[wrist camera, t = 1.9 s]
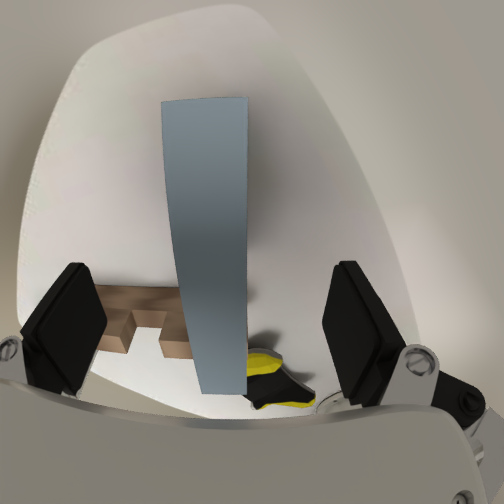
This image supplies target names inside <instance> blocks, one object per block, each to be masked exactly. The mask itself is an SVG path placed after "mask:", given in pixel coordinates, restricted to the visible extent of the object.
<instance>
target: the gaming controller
mask: <svg viewBox="0 0 504 504" xmlns="http://www.w3.org/2000/svg"><path fill="white" fill-rule="evenodd" d="M282 362H283V358H282V355H280V354H278V353H276V352H274V351H272V350H270V349H264V348H252V349H249V350H248V360H247V395H243V396H244V397H245V398H247V399H248V400H249V401H251V409H252V410H254V409H256V410H259V409H263V408H265V407H266V406H268V405H271V404H277V405H284V406H292V407H299V408H305V407H310V406H312V405H313V404H314V402H315V398H316V394H315V391H314V390H312V389H310V388H309V387H307V386H306V385H304V384H302V383H301V382H299V381H297V380H296V379H294V378H293V377H292V376H290V375H289V374H288V373H287V372H286V371H285V370H284V369H283V368H282V367H281V365H282Z"/></svg>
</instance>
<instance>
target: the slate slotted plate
mask: <svg viewBox="0 0 504 504" xmlns="http://www.w3.org/2000/svg"><path fill="white" fill-rule="evenodd" d="M161 112H162V138H163V155H164V169H165V182H166V193H167V203H168V212H169V221H170V229H171V237H172V244H173V252H174V259H175V265H176V272H177V278H178V284H179V290H180V296H181V301H182V307H183V312H184V317H185V322H186V327H187V332H188V337H189V342H190V346H191V351H192V355H193V360H194V364H195V368H196V372H197V376H198V381H199V385H200V388H201V392H202V394H223V395H247V152H248V97H222V98H200V99H187V100H176V101H166V102H161Z"/></svg>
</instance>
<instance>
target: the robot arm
mask: <svg viewBox="0 0 504 504" xmlns="http://www.w3.org/2000/svg"><path fill="white" fill-rule="evenodd" d="M106 326H107V316H106V314H105V311H104V309H103V306H102V304H101V301H100V298H99V296H98V293H97V290H96V288H95V285H94V282H93V279H92V276H91V273H90V270H89V268H88V267H87V266H86V265H85V264H84V263H75V262H72V263H70V264H69V265H68V266H67V267H66V268H65V270H64V271H63V272H62V273H61V275H60V276H59V277H58V278H57V280H56V281H55V282H54V284H53V285H52V286H51V288H50V289H49V290H48V292H47V293H46V294H45V296H44V297H43V298H42V300H41V301H40V303H39V304H38V305H37V307H36V308H35V310H34V311H33V313H32V314H31V315H30V317H29V318H28V320H27V321H26V323H25V325H24V326H23V328H22V329H21V331H20V333H21V334H22V336H23V338H24V339H23V340H22V341H21V340H20V339H19V337H17V336H9V337H6V338H5V339H3V340H2V341H1V342H0V504H491V502H492V501H493V499H494V497H495V496H496V494H497V492H498V491H499V489H500V487H501V485H502V483H503V482H504V419H503V418H502V417H501V416H500V415H498V414H497V413H496V412H495V411H494V410H493V409H492V408H491V407H489V408H488V409H486V408H485V404H486V403H485V399H484V396H483V395H482V393H481V392H480V391H479V390H478V389H477V388H475V387H474V386H472V385H469V384H467V383H465V382H463V381H461V380H458V379H457V378H455V377H452V376H450V375H448V374H446V373H444V372H442V371H440V370H439V361H438V358H437V356H436V355H435V353H434V352H432V351H431V350H430V349H429V348H427V347H425V346H422V345H419V344H412V345H409V346H406V344H405V342H404V340H403V338H402V336H401V334H400V333H399V331H398V329H397V327H396V325H395V324H394V322H393V320H392V318H391V316H390V315H389V313H388V311H387V309H386V308H385V306H384V304H383V303H382V301H381V299H380V298H379V296H378V295H377V294H376V292H375V291H374V289H373V287H372V286H371V284H370V282H369V281H368V279H367V277H366V276H365V274H364V273H363V271H362V270H361V268H360V266H359V265H358V263H357V262H356V261H340V262H339V265H335V266H334V270H333V275H332V279H331V284H330V289H329V293H328V298H327V302H326V306H325V310H324V314H323V319H322V326H323V330H324V333H325V336H326V339H327V343H328V346H329V349H330V352H331V356H332V359H333V362H334V366H335V369H336V372H337V376H338V379H339V383H340V386H341V389H342V392H340V393H337V394H335V395H333V396H331V397H329V398H328V399H326V400H325V401H324V402H322V403H321V404H320V405H319V407H318V408H317V415H307V416H297V417H286V418H271V419H200V418H184V417H173V416H163V415H155V414H147V413H140V412H134V411H128V410H122V409H116V408H112V407H107V406H102V405H97V404H93V403H89V402H84V401H81V400H77V399H73V398H69V397H66V396H63V395H61V394H62V391H63V392H64V393H65V394H67V395H71V396H75V397H76V394H77V391H78V390H80V389H81V387H82V384H83V382H84V379H85V376H86V374H87V371H88V369H89V366H90V364H91V361H92V359H93V356H94V354H95V352H96V349H97V347H98V344H99V342H100V340H101V338H102V335H103V333H104V331H105V329H106Z"/></svg>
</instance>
